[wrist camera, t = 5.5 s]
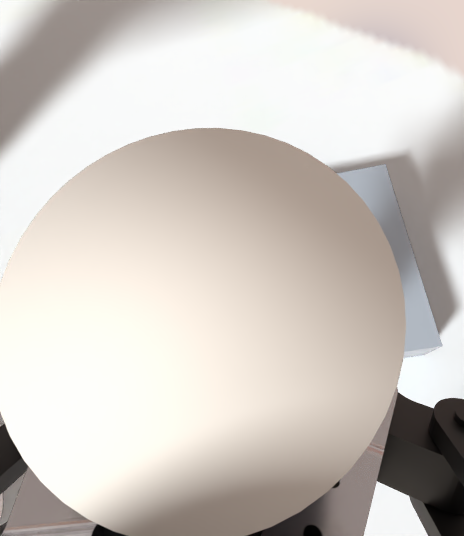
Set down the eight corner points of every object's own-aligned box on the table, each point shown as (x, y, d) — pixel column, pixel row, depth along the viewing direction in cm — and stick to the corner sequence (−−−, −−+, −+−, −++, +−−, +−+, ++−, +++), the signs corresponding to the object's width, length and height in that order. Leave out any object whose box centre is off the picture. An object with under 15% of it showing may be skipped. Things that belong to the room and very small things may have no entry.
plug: (211, 451, 19) (-28, 568, 4) (201, 339, 20) (3, 161, 6) (325, 437, 18) (465, 516, 4) (304, 324, 20) (351, 99, 6)
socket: (236, 383, 32) (229, 378, 28) (214, 220, 37) (206, 198, 33) (424, 354, 31) (442, 345, 27) (375, 190, 36) (385, 164, 32)
